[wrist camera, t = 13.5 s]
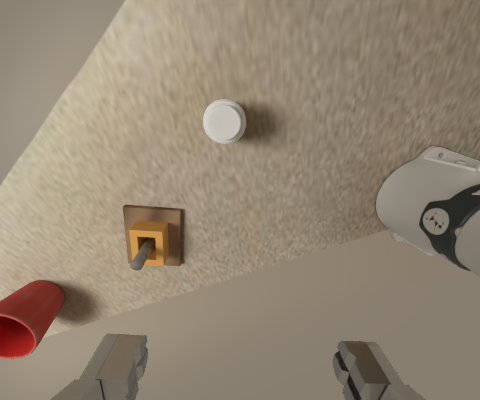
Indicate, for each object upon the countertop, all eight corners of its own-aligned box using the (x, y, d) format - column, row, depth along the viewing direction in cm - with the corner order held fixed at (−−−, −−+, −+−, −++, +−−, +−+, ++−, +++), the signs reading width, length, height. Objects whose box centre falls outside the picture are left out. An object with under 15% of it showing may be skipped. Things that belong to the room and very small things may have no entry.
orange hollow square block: (167, 222, 40) (162, 231, 37) (168, 254, 43) (163, 266, 39) (137, 220, 40) (129, 229, 37) (140, 253, 42) (132, 264, 39)
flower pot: (84, 296, 47) (49, 340, 38) (52, 321, 49) (11, 367, 40) (39, 264, 44) (-10, 304, 35) (7, 292, 46) (-48, 336, 37)
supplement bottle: (233, 94, 34) (234, 87, 24) (249, 128, 36) (256, 133, 26) (202, 112, 35) (191, 111, 25) (219, 144, 37) (215, 155, 27)
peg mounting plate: (181, 208, 40) (168, 233, 32) (181, 262, 45) (170, 297, 36) (125, 204, 40) (97, 229, 31) (130, 260, 44) (107, 294, 36)
